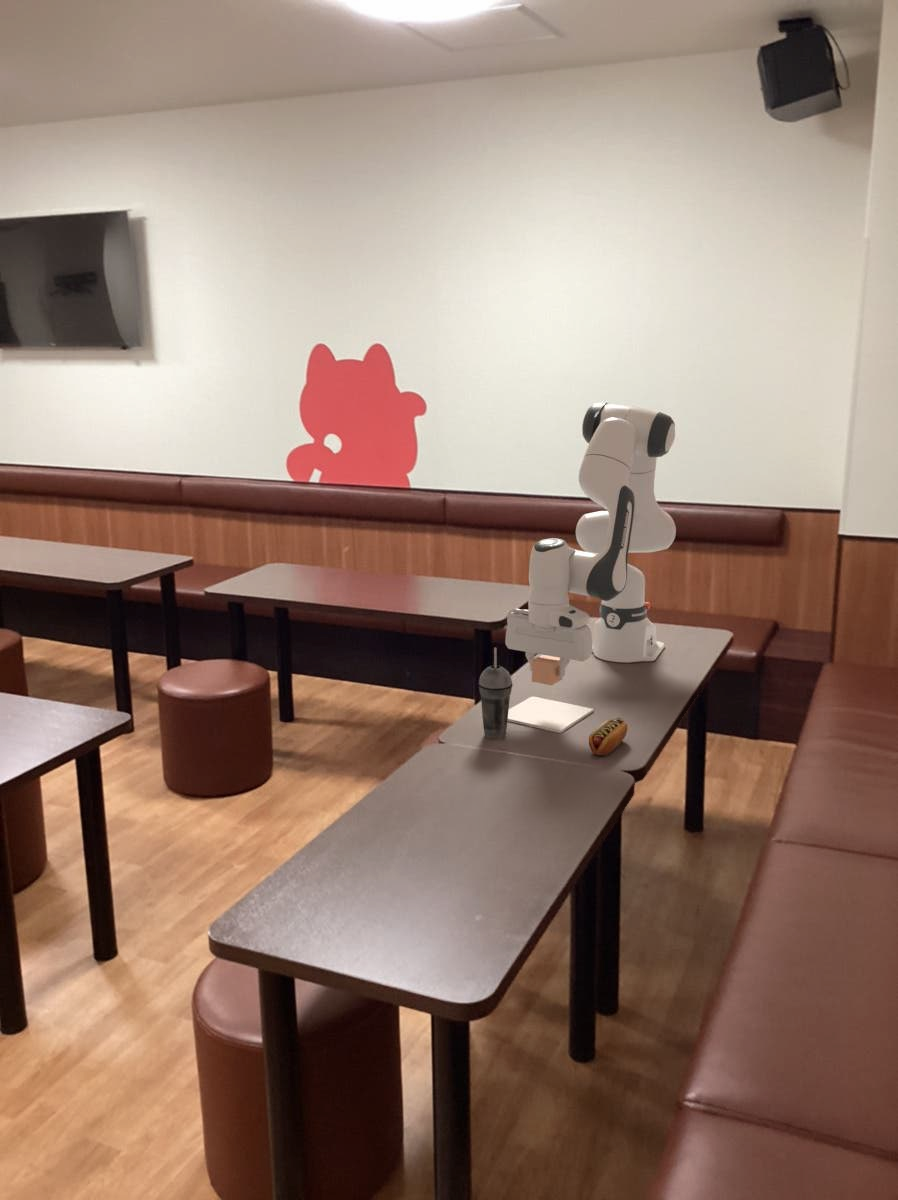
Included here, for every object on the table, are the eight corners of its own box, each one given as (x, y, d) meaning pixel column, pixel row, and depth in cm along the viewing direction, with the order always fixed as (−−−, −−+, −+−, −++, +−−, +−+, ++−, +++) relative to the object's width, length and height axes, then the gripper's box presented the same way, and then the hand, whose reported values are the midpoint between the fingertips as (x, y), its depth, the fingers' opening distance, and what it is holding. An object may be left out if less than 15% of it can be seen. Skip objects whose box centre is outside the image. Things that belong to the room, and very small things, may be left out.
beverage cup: (512, 730, 226) (513, 641, 221) (511, 742, 219) (512, 651, 214) (479, 729, 227) (479, 640, 222) (476, 741, 220) (477, 650, 215)
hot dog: (582, 756, 212) (583, 733, 211) (607, 735, 223) (608, 713, 222) (605, 761, 210) (606, 738, 208) (630, 740, 221) (630, 718, 219)
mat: (532, 698, 246) (532, 696, 246) (593, 711, 237) (593, 708, 237) (496, 718, 233) (496, 716, 233) (560, 733, 224) (560, 730, 224)
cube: (542, 675, 236) (542, 654, 235) (562, 679, 234) (562, 658, 232) (531, 681, 232) (532, 660, 231) (551, 685, 230) (552, 663, 228)
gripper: (500, 610, 232) (500, 669, 236) (583, 622, 221) (581, 684, 225) (514, 604, 237) (514, 662, 241) (596, 616, 226) (594, 677, 230)
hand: (547, 673), depth 233 cm, fingers closed on cube, 5 cm apart
